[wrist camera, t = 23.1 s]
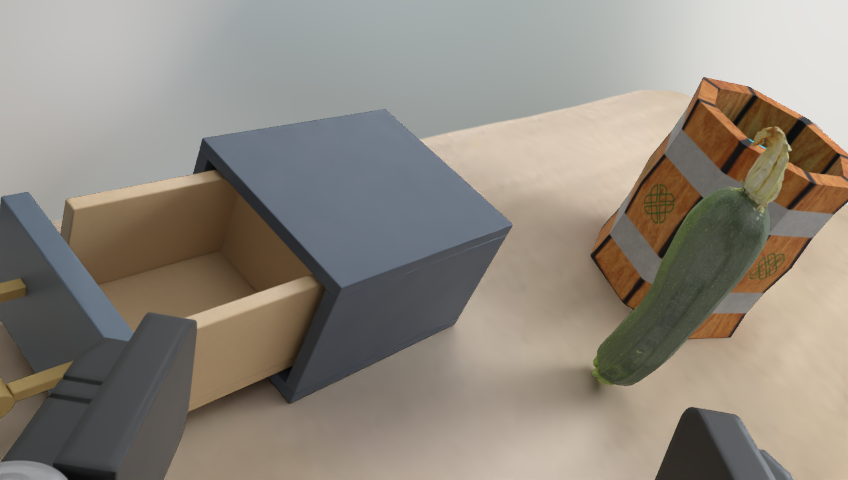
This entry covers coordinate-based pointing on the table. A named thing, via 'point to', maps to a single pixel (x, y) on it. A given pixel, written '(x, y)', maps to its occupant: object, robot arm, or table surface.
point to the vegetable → (697, 269)
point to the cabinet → (362, 233)
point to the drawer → (153, 281)
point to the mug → (715, 169)
